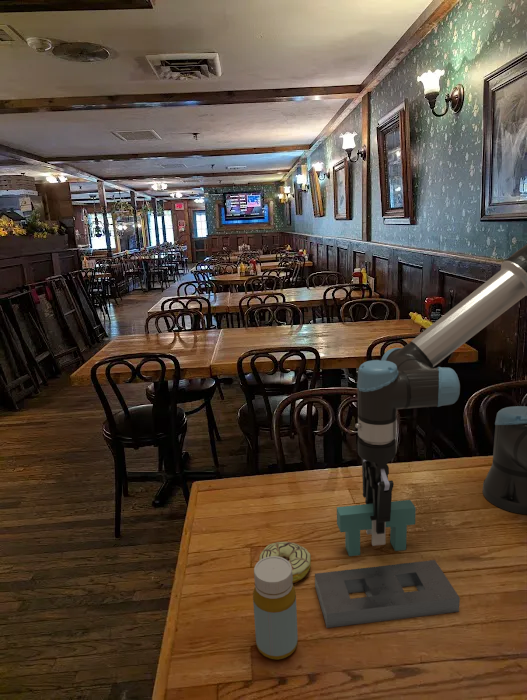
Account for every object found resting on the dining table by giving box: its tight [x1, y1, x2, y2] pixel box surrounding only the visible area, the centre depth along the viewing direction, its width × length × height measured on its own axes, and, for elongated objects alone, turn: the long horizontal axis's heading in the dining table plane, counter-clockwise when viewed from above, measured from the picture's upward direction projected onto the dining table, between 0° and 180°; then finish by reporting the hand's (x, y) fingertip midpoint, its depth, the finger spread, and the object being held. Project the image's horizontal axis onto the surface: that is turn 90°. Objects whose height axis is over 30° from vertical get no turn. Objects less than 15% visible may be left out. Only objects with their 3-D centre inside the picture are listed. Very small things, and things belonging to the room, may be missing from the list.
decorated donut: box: [258, 541, 312, 585], centre depth 99 cm, size 10×11×4 cm
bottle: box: [252, 556, 299, 661], centre depth 80 cm, size 7×7×15 cm
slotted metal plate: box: [314, 559, 461, 629], centre depth 90 cm, size 24×10×3 cm, turn 96°
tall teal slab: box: [336, 499, 416, 557], centre depth 103 cm, size 16×3×10 cm, turn 96°
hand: (375, 538), depth 103 cm, fingers closed on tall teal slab, 3 cm apart
